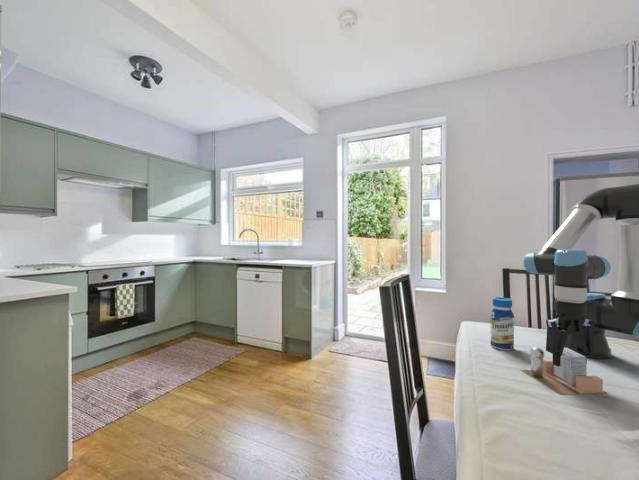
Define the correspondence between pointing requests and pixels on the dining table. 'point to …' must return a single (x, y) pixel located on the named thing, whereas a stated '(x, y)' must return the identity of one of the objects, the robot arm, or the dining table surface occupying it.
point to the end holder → (582, 382)
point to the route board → (553, 384)
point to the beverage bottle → (502, 324)
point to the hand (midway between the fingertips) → (569, 375)
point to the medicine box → (573, 366)
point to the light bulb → (537, 362)
